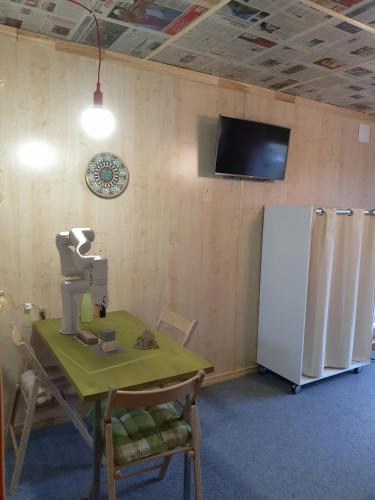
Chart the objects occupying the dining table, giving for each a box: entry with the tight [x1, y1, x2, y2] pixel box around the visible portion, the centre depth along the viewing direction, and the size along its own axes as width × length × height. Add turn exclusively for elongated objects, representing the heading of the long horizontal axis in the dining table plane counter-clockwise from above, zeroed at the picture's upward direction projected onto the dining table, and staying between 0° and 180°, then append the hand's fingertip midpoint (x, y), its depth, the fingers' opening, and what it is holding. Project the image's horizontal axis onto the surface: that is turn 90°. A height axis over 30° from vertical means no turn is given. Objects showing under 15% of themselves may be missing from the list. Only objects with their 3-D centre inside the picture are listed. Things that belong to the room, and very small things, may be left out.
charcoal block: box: [99, 327, 117, 342], centre depth 198 cm, size 6×6×5 cm
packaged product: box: [72, 329, 99, 347], centre depth 212 cm, size 18×5×10 cm
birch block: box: [97, 338, 118, 352], centre depth 199 cm, size 7×7×5 cm
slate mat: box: [88, 344, 127, 357], centre depth 199 cm, size 16×14×1 cm
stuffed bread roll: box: [132, 328, 159, 350], centre depth 206 cm, size 14×11×10 cm
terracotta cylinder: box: [94, 304, 104, 319], centre depth 195 cm, size 6×6×6 cm
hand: (100, 315), depth 195 cm, fingers closed on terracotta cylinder, 5 cm apart
